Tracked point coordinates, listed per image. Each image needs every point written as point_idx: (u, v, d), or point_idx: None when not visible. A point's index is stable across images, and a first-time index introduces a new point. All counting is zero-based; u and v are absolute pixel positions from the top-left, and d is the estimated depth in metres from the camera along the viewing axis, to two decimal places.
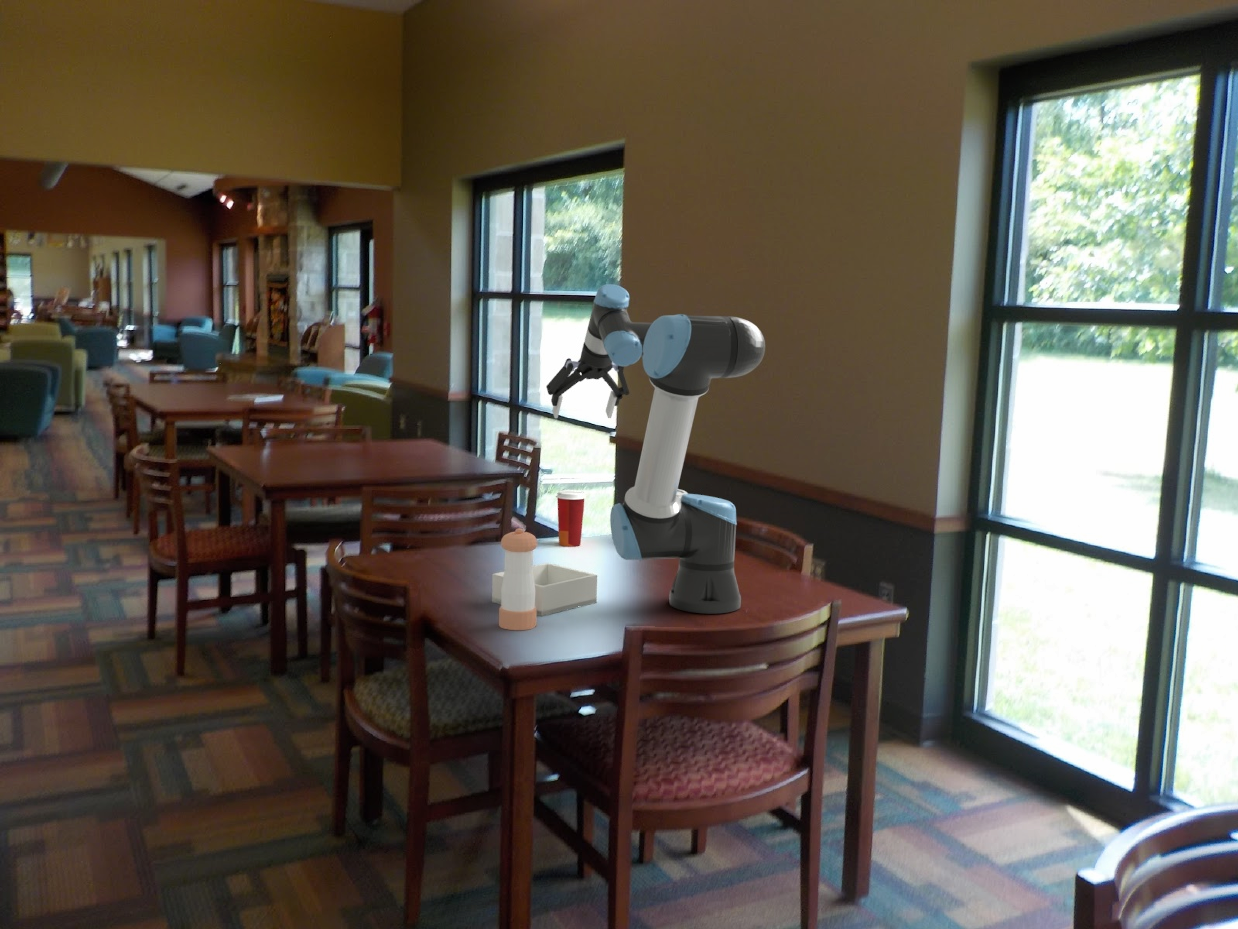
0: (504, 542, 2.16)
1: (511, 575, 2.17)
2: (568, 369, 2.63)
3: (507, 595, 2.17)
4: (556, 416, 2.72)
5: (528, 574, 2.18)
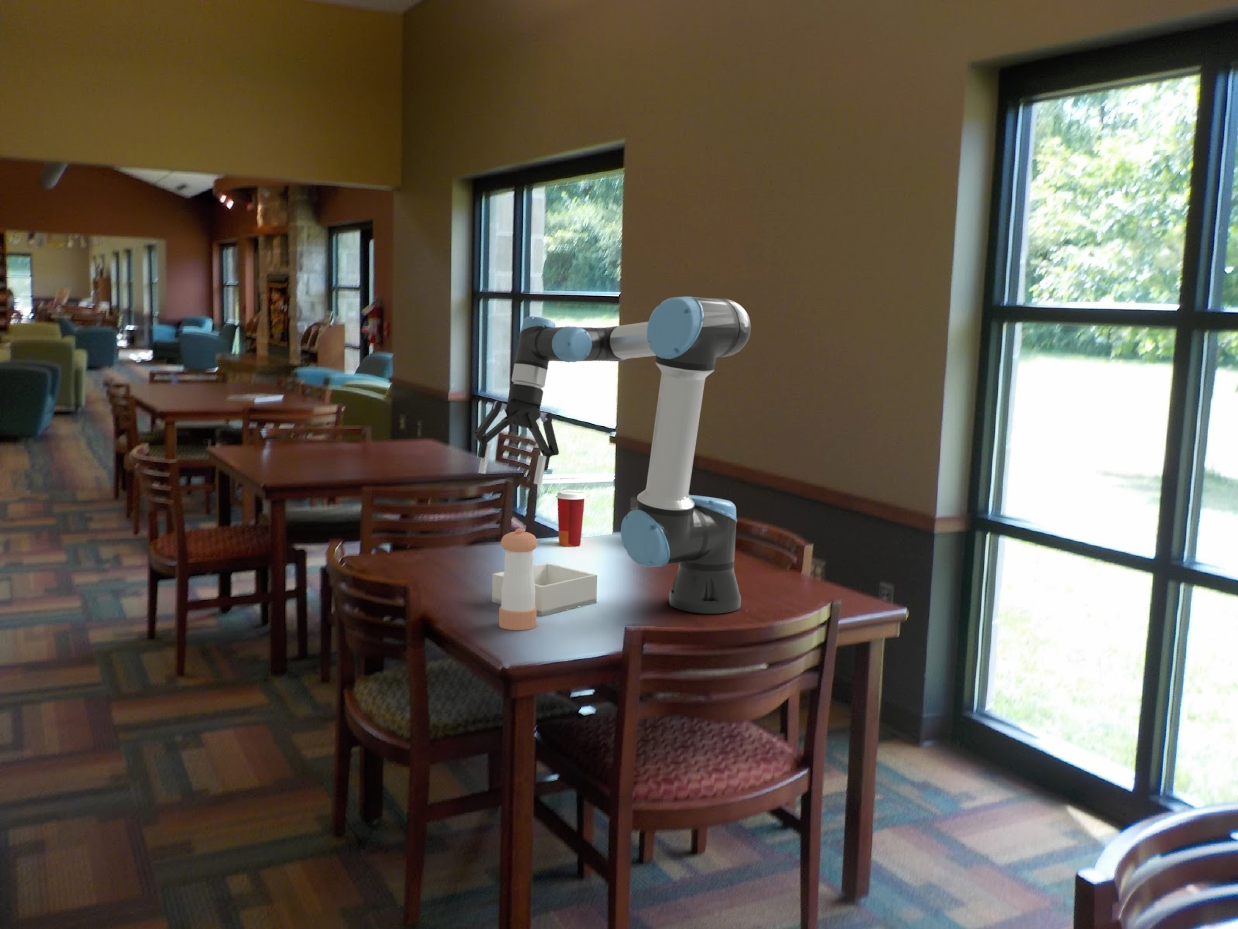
0: (504, 542, 2.16)
1: (511, 575, 2.17)
2: (497, 406, 2.51)
3: (507, 595, 2.17)
4: (484, 471, 2.50)
5: (528, 574, 2.18)
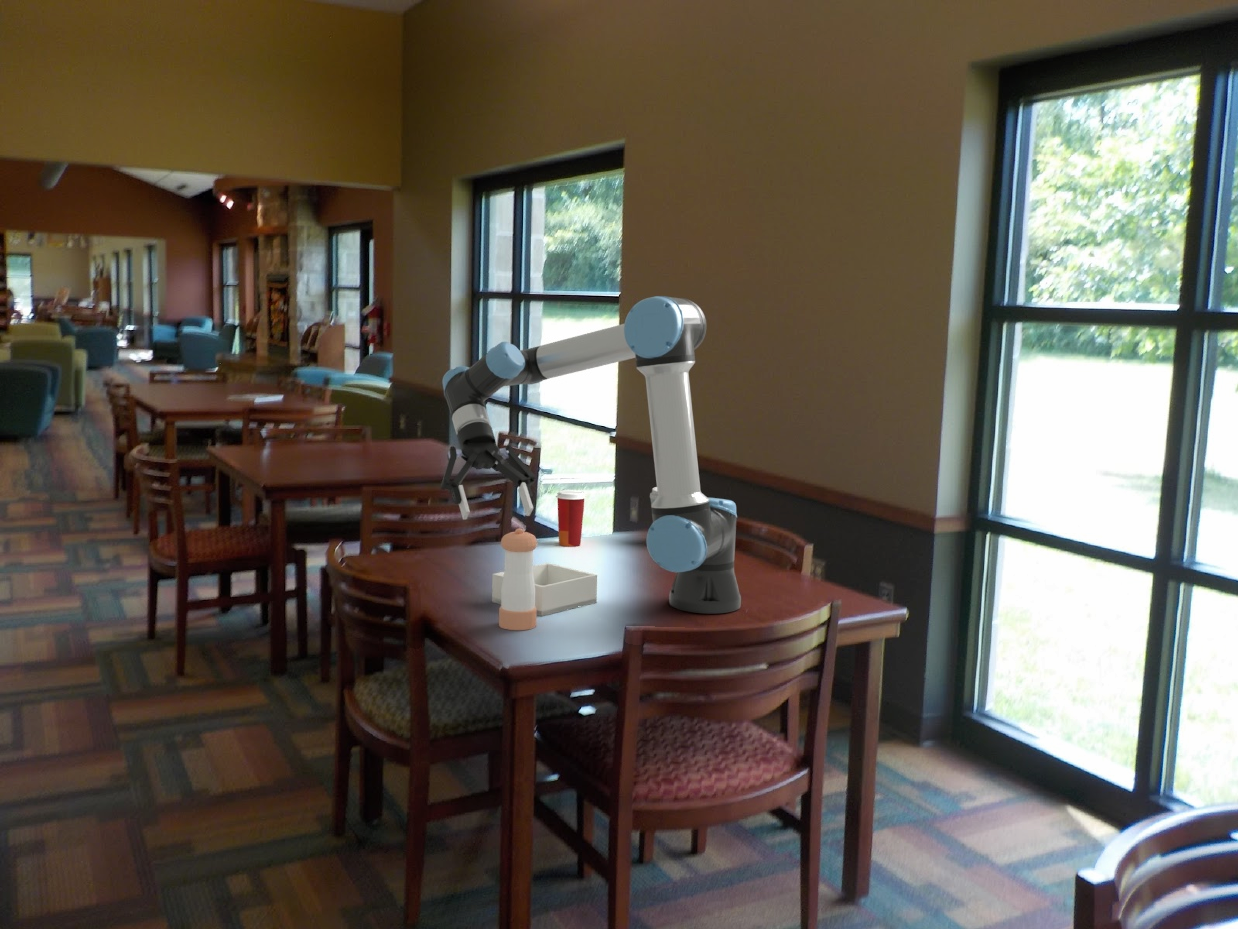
0: (504, 542, 2.16)
1: (511, 575, 2.17)
2: (451, 451, 2.32)
3: (507, 595, 2.17)
4: (467, 509, 2.24)
5: (528, 574, 2.18)
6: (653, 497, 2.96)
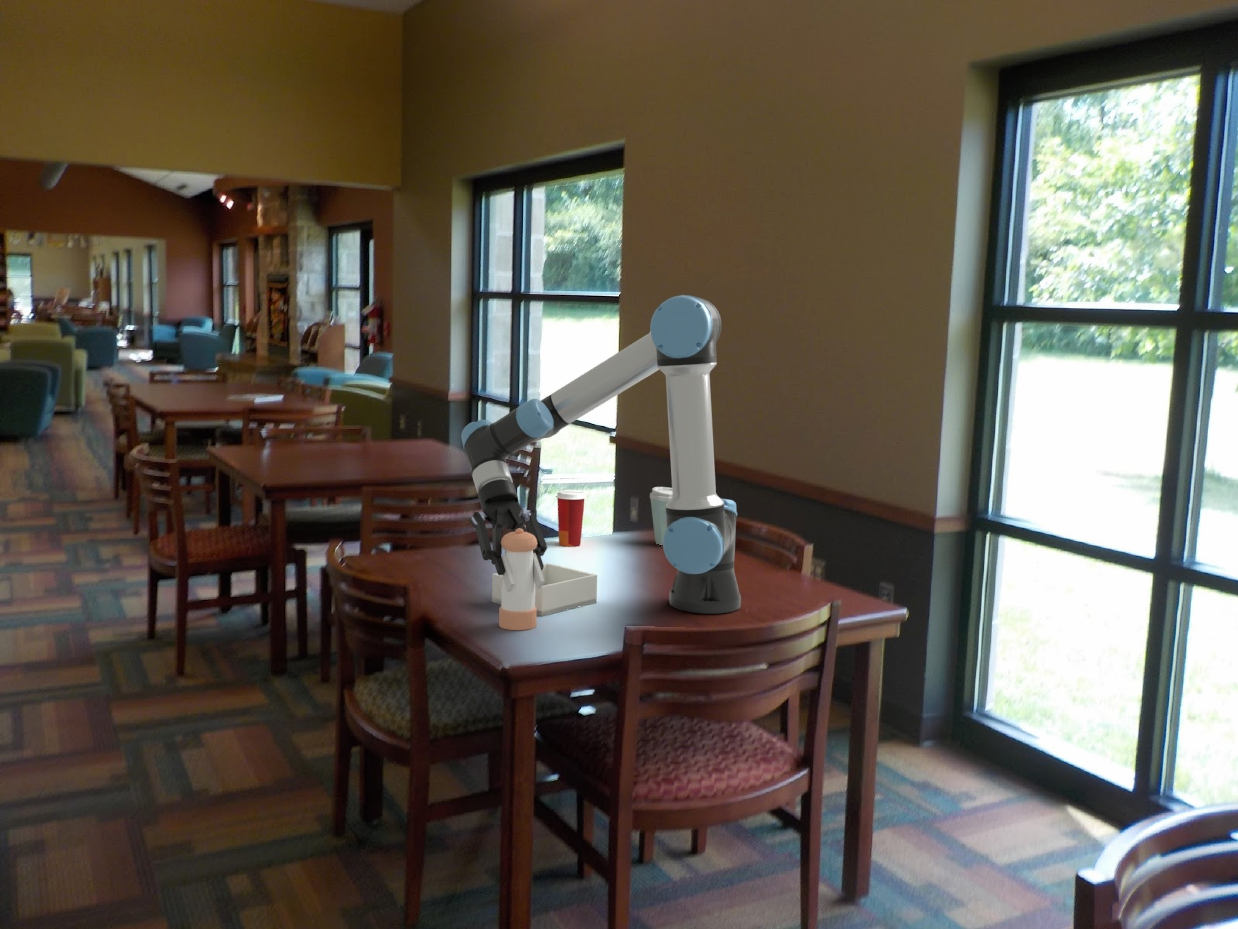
0: (504, 542, 2.16)
1: None
2: (477, 518, 2.21)
3: (507, 595, 2.17)
4: (512, 581, 2.14)
5: (528, 574, 2.18)
6: (653, 497, 2.97)
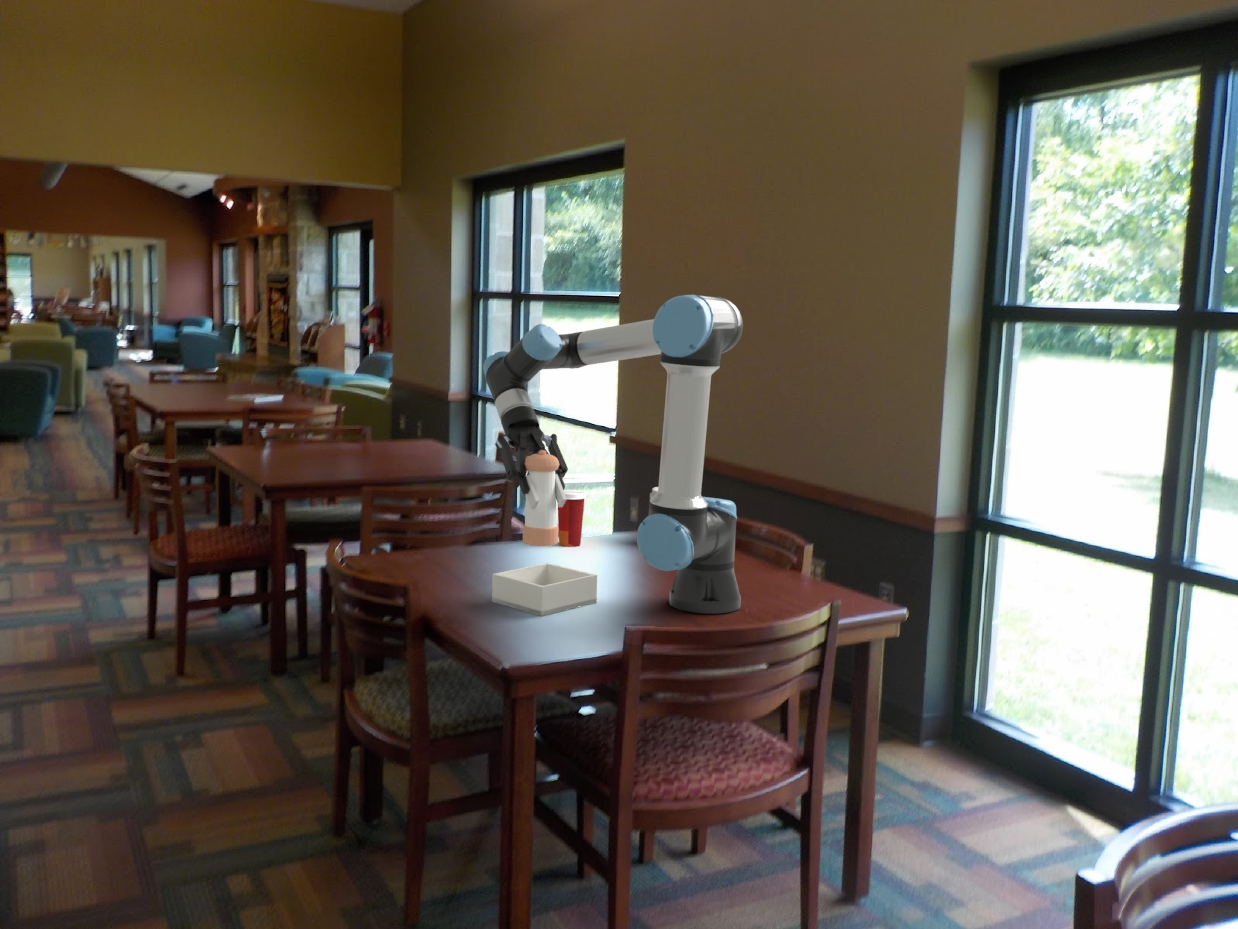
0: (529, 462, 2.29)
1: None
2: (502, 441, 2.33)
3: (531, 513, 2.30)
4: (536, 499, 2.27)
5: (551, 493, 2.31)
6: None
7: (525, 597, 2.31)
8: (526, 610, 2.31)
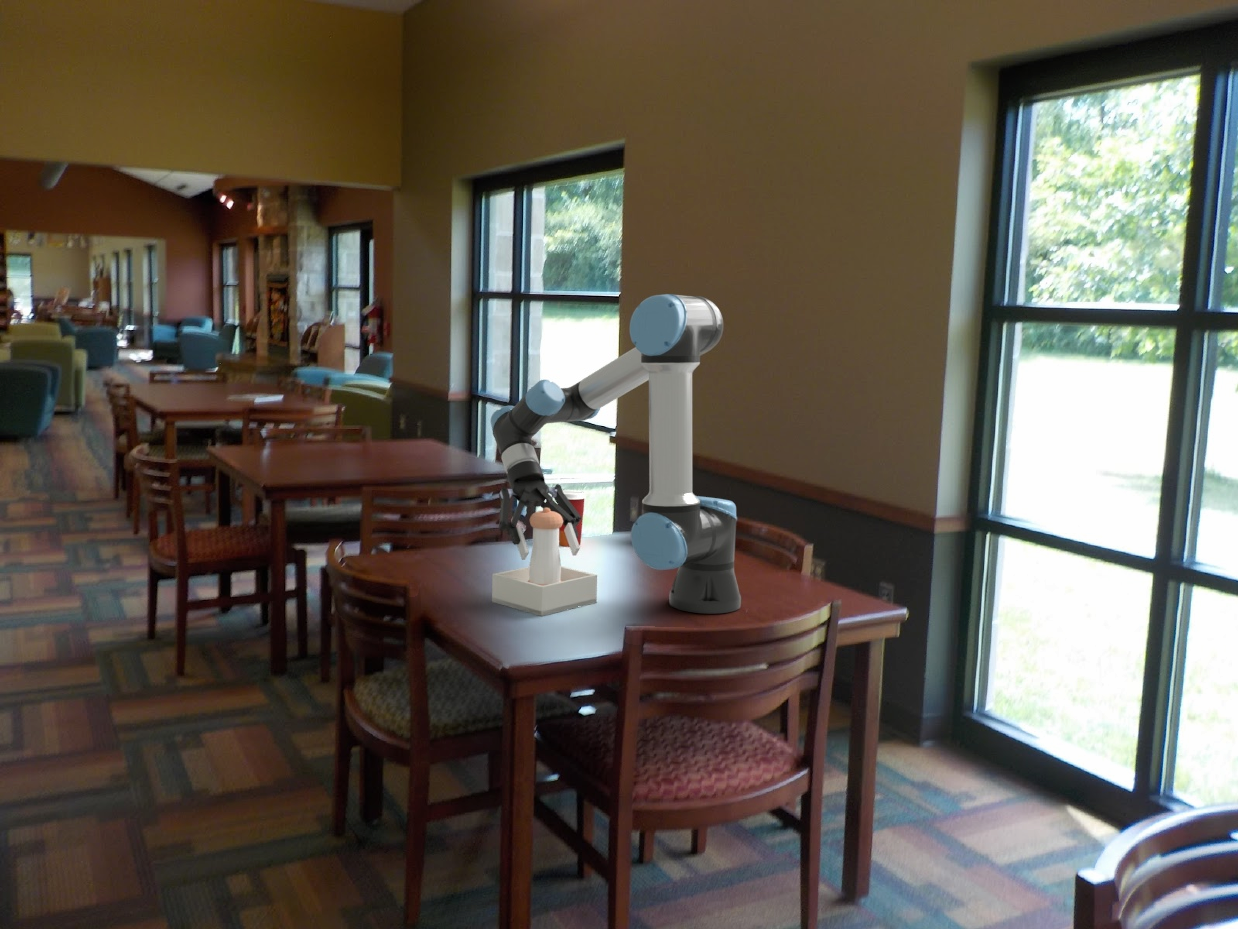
0: (533, 520, 2.34)
1: (539, 551, 2.35)
2: (504, 492, 2.39)
3: (535, 569, 2.35)
4: (526, 550, 2.31)
5: (554, 550, 2.35)
6: None
7: (525, 597, 2.31)
8: (526, 610, 2.31)
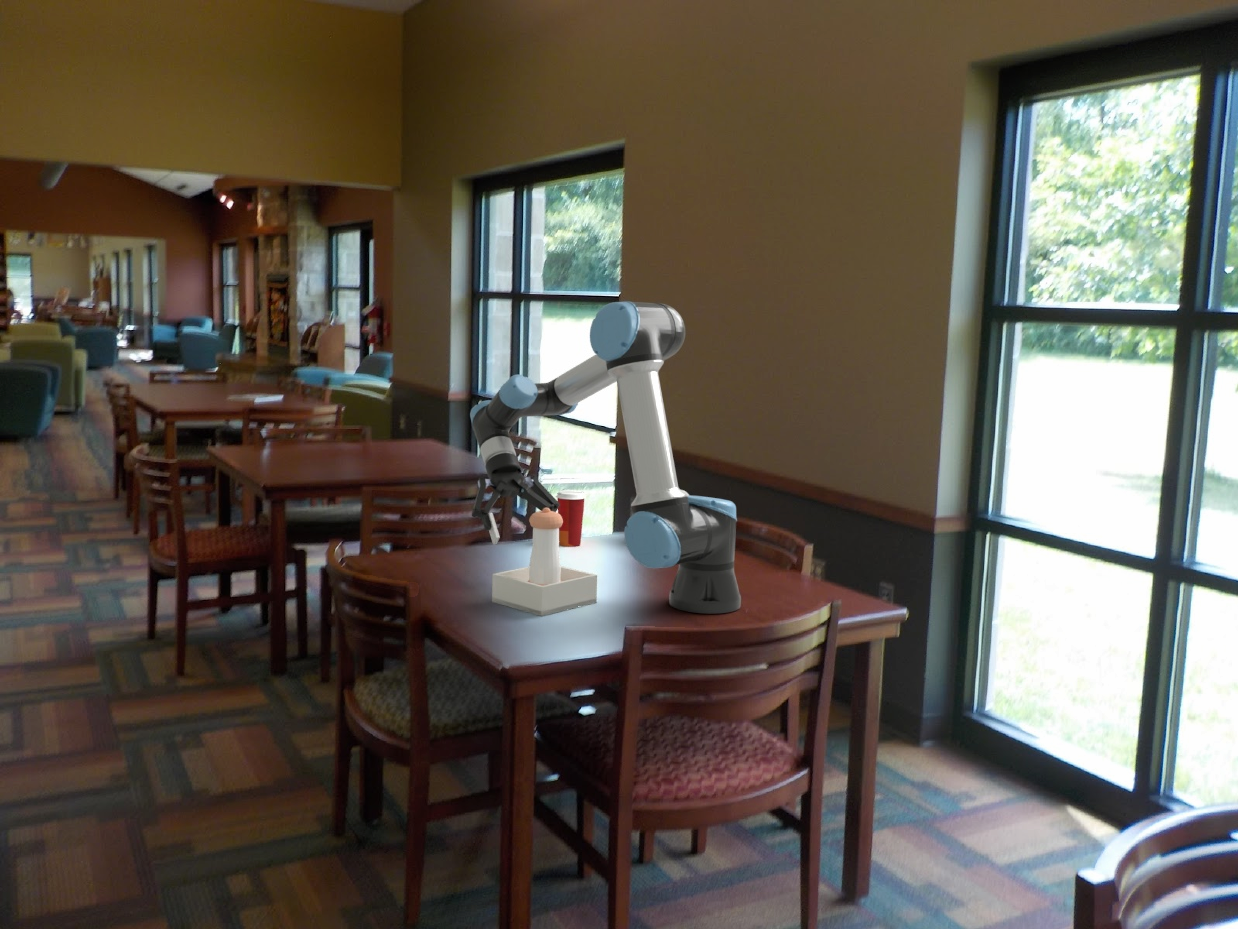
0: (533, 520, 2.34)
1: (539, 551, 2.35)
2: (481, 481, 2.50)
3: (535, 569, 2.35)
4: (497, 535, 2.42)
5: (554, 550, 2.35)
6: None
7: (525, 597, 2.31)
8: (526, 610, 2.31)
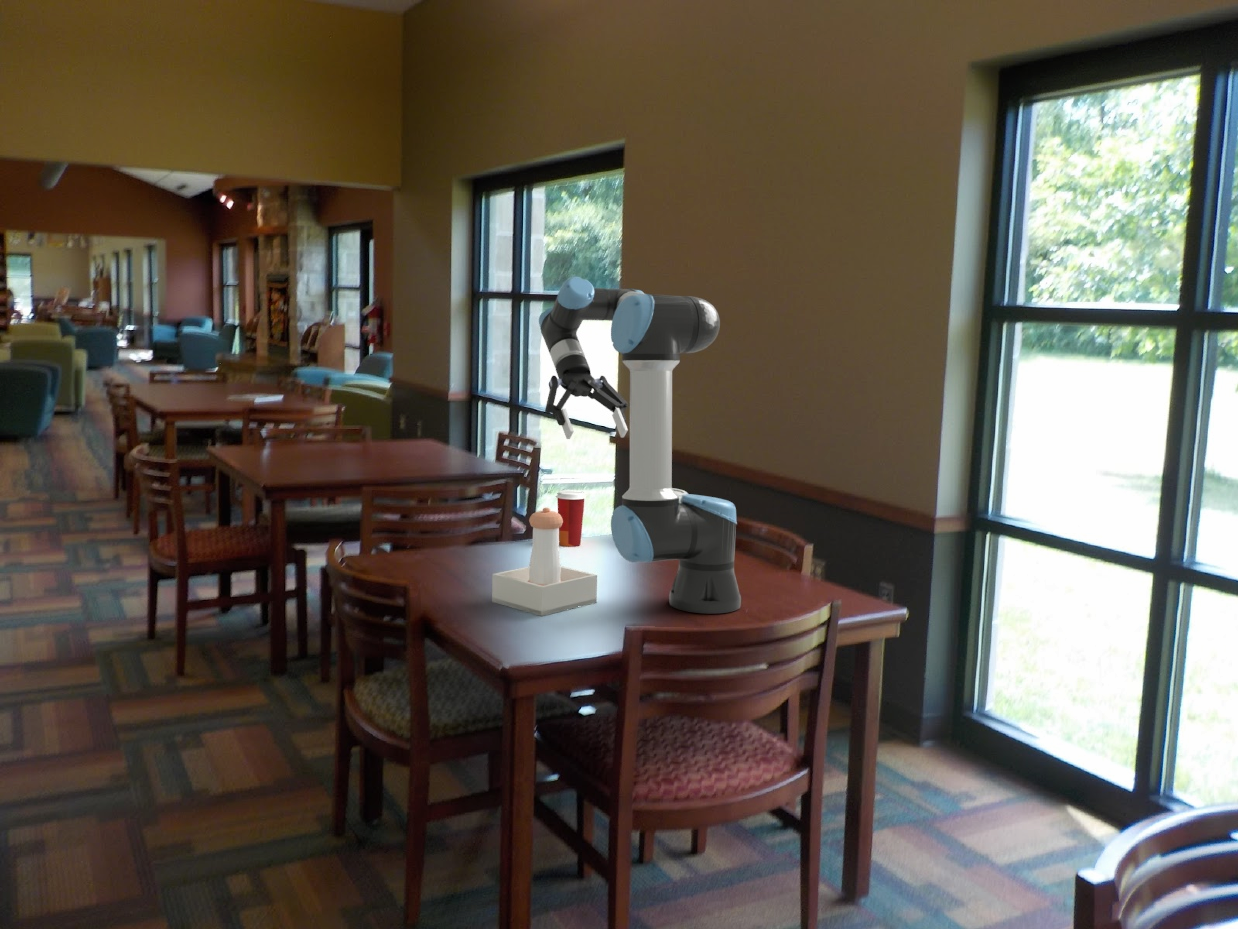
0: (533, 520, 2.34)
1: (539, 551, 2.35)
2: (553, 380, 2.57)
3: (535, 569, 2.35)
4: (571, 429, 2.50)
5: (554, 550, 2.35)
6: None
7: (525, 597, 2.31)
8: (526, 610, 2.31)
